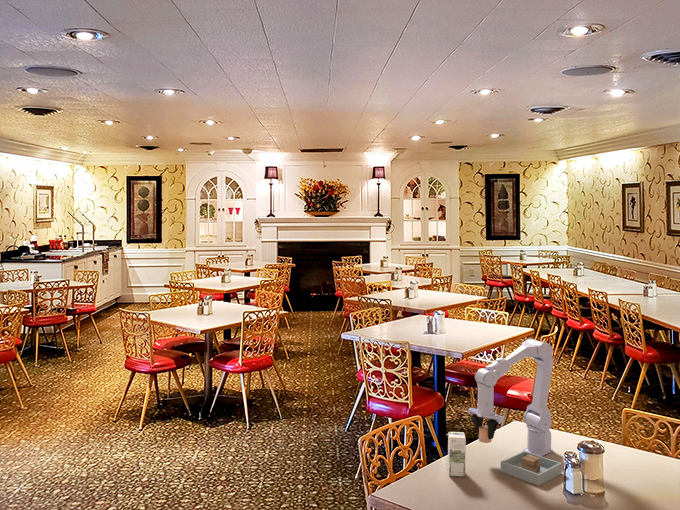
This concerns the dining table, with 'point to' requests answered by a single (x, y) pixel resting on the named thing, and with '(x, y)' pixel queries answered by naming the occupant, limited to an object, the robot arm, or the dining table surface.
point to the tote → (515, 469)
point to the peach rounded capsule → (484, 434)
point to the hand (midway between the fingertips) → (485, 436)
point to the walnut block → (531, 463)
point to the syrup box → (456, 454)
